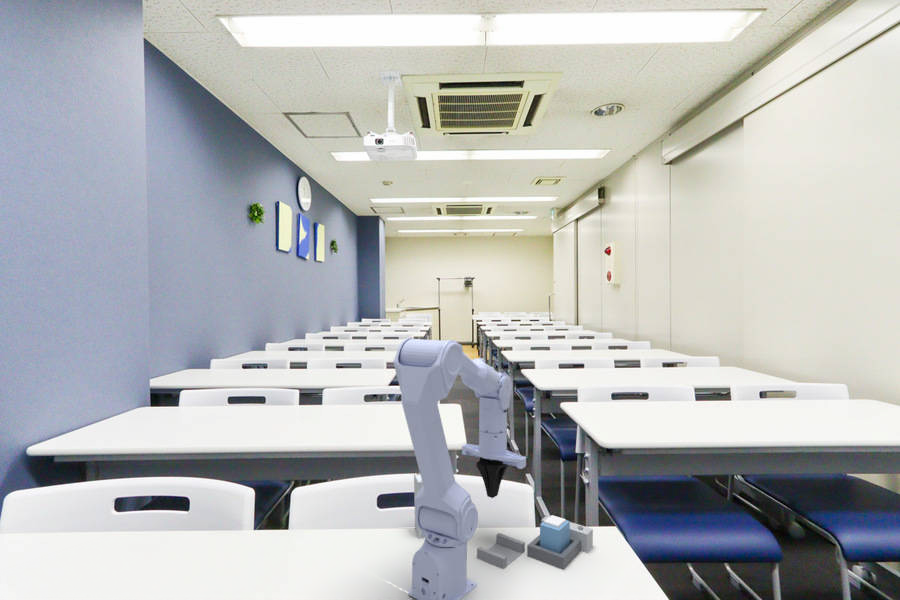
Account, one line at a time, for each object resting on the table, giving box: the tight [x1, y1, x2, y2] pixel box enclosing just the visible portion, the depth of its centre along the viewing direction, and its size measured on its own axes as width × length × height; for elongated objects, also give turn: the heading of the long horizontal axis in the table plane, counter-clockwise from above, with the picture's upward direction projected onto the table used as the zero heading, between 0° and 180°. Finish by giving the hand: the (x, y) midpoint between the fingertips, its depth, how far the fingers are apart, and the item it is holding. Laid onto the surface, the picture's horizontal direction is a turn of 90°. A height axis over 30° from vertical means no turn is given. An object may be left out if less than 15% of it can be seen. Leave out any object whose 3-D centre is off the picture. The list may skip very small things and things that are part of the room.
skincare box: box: [413, 472, 425, 539], centre depth 99 cm, size 6×4×12 cm
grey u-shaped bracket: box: [476, 532, 526, 570], centre depth 90 cm, size 8×6×2 cm
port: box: [526, 514, 594, 571], centre depth 92 cm, size 12×10×4 cm
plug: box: [539, 514, 571, 554], centre depth 91 cm, size 5×4×6 cm
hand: (492, 495), depth 95 cm, fingers closed
